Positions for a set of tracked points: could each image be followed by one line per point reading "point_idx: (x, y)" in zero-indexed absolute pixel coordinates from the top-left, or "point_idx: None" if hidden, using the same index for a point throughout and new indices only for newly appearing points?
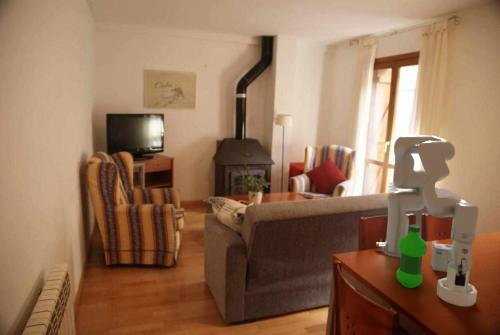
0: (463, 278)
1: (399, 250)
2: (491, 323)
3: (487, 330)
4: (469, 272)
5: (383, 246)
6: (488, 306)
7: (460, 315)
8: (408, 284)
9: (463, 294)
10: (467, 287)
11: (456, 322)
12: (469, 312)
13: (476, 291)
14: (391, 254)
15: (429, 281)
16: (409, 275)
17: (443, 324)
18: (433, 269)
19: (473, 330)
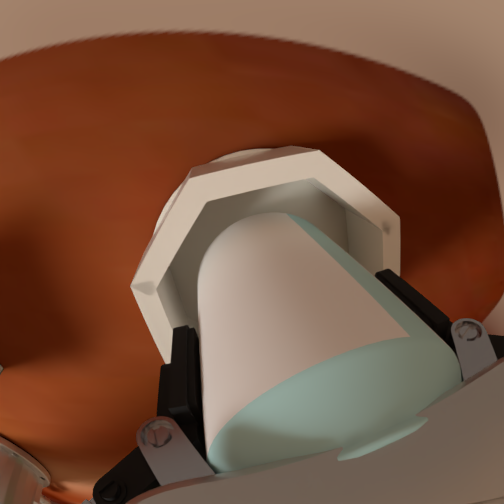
0: (450, 323)
1: (18, 474)
2: (443, 101)
3: (486, 134)
4: (396, 315)
5: (40, 498)
6: (272, 72)
7: (437, 226)
8: None
9: (397, 247)
10: (305, 231)
11: (477, 238)
12: (400, 185)
13: (314, 154)
14: (46, 477)
15: (141, 384)
16: None
17: (489, 275)
18: (2, 369)
19: (498, 184)
